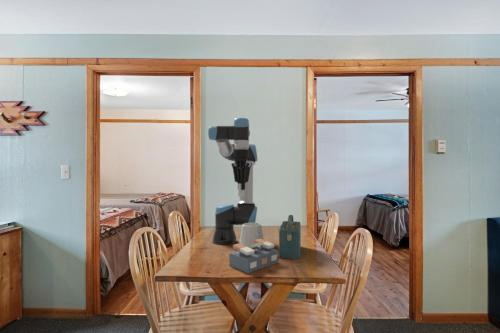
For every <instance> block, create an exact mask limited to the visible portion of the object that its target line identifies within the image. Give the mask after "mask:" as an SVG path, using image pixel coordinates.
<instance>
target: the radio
mask: <svg viewBox="0 0 500 333" xmlns="http://www.w3.org/2000/svg"><path fill="white" fill-rule="evenodd" d="M278 237H279V239H278V242H279V243H278V247H279V249H278V256H279V257H278V258H281V259H291V260H292V259H295V260H299V259H300V258H301V246H302V245H301V241H302V240H301V221H294V215H293V214H289V215H288V218H287V221H286V220H283V221H282V222H281V225H280V227H279V230H278Z"/></svg>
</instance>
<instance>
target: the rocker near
mask: <svg viewBox="0 0 500 333" xmlns="http://www.w3.org/2000/svg"><path fill="white" fill-rule="evenodd" d="M232 249H235V251H239V252H240V253H244V254H245V255H250V254H254V251H255V250H253V249H251V248H249V247H247V246H245V245H243V244H241V243H239V242H238V243H236V244H232Z"/></svg>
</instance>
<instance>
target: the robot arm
mask: <svg viewBox="0 0 500 333" xmlns="http://www.w3.org/2000/svg"><path fill="white" fill-rule="evenodd" d="M233 121H234V122H233V125H210V126H209V127H208V131H207V135H208V139H209V140H210V141H215V143H216V145H217V147H218V152H219V154H220V156H221V157H223V158H224V159H226V160H228V161H231V162H233V163H230V164H231V167H232V171H233V172H232V173H233V176H234V177H233V179H234V182H235V183H237V191H238V196H237V197H239V201H238V202H237V203H236V206H235V205H234V204H233V203H229V204H228V203H227V204H221V205H218V206H216V208H215V214H214V215H215V218H214V220H215V223H214V224H215V228H214V229H215V230H214V233H213V237H212V243H213V244H218V245H230V244H234V243H236V242H237V236H236V232H235V229H234V228H235V227H234V226H242V225H243V224H244V223H257V222H256V221H257V213H258V207H257V206H256V203H255V202H254V200H253V199H254V165H256V162H257V161H258V152H257V147H256V144H254V143H253V144H252V143H251V144H250V134H251V133H250V132H251V131H250V122H249V121H250V120H249V119H248V118H246V117H236V118H234V120H233ZM231 141H233V143H231Z"/></svg>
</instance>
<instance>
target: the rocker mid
mask: <svg viewBox="0 0 500 333" xmlns="http://www.w3.org/2000/svg"><path fill="white" fill-rule="evenodd" d="M263 244H264V243H263V242H259V243H255V244H253V245H250V246H247V247H249V248H251V249H253V250H254V249H257V248H258V246H260V245H263Z"/></svg>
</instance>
